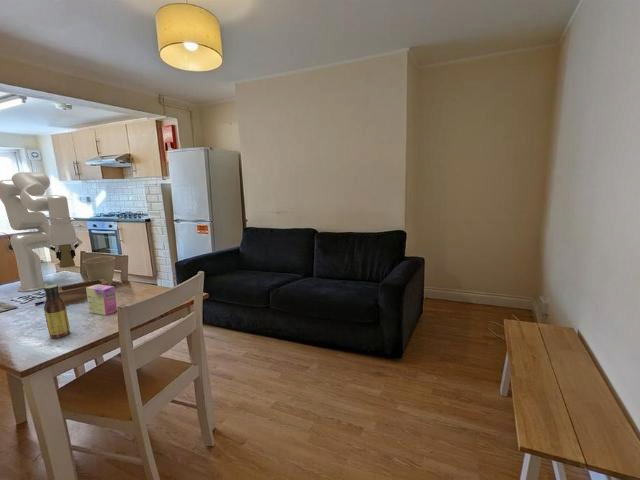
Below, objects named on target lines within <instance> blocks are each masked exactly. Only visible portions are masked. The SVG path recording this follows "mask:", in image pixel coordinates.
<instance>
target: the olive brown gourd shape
mask: <svg viewBox="0 0 640 480" xmlns="http://www.w3.org/2000/svg"><path fill="white" fill-rule="evenodd" d="M58 250H59V252H60V257H61V260H59V268H61V269H62V268H63V269H64V268H71V267H75V266H76V264H75V260H74V258H72V254H71V245H61V246H59V249H58Z"/></svg>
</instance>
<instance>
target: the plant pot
mask: <svg viewBox="0 0 640 480" xmlns="http://www.w3.org/2000/svg"><path fill="white" fill-rule="evenodd" d="M82 264H83V267H84V270H85V272H86V274H87V276H88V278H89V281H92V280H97V279H104V280H105V281H106V282H107V283H108V286H112V283H113V279H114V275H115V267H116V257H115V256H110V255H109V256H108V255H107V256H97V257H92V258H91V257H90V258H88V259H87V258H86V259H85V260H83V261H82Z"/></svg>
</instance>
